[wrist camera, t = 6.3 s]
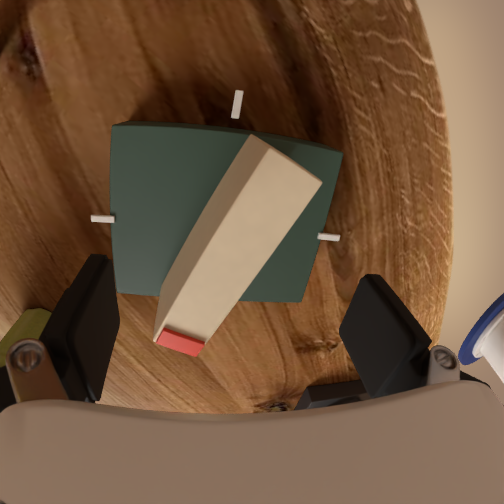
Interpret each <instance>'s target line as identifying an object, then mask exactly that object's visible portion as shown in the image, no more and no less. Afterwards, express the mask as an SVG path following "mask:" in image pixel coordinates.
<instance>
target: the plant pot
mask: <svg viewBox="0 0 504 504" xmlns="http://www.w3.org/2000/svg"><path fill="white" fill-rule="evenodd" d="M51 314H52V313H51V312H49V311H47V310H45V309H41V308H37V309H27V310H26V311H25V312H24V313H23V314H22V315H21V316H20V318H19V319H18V320H17V321H16V323H15V324H14V325H13V326H12V327H11V329H10V330H9V331H8V332H7V334H6V335H5V336H4V338H3V339H2V340H1V342H0V367H2V366H5V365H6V359H5V358H6V354H7V351H8V350H9V348H10V346H12V345H13V344H14V343H15V342H16V341H18V340H20V339H24V338H35V339H39V337H40V335H41V333H42V331H43V329H44V327H45V325H46V323H47V321H48V320H49V318H50V316H51Z"/></svg>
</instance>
